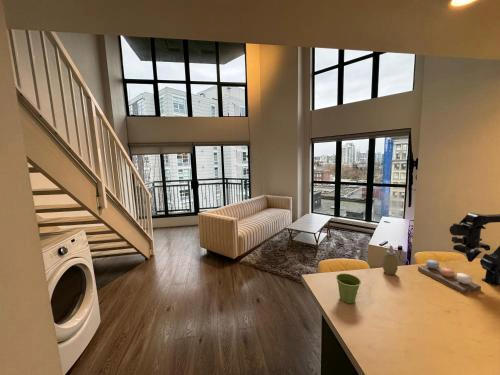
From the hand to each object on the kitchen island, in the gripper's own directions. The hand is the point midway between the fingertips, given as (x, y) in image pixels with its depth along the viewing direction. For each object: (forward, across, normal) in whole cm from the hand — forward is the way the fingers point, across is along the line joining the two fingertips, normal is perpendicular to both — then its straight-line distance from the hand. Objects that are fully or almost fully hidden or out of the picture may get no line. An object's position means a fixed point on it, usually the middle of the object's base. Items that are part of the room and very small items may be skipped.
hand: (469, 261), depth 122 cm
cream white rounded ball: (+11, +10, +4) cm, 15 cm away
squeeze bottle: (+12, +36, -18) cm, 42 cm away
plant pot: (+12, +78, -1) cm, 79 cm away
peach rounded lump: (+12, +10, -4) cm, 16 cm away
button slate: (+11, +10, -13) cm, 19 cm away
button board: (+12, +10, -4) cm, 16 cm away
